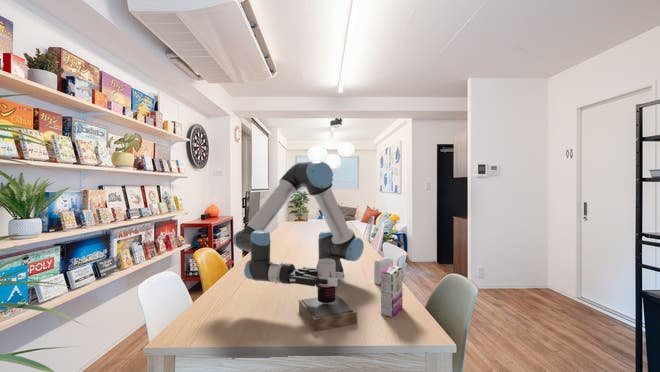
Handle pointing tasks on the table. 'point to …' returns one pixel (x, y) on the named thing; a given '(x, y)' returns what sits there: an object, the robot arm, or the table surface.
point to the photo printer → (381, 268)
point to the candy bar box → (391, 290)
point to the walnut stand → (327, 313)
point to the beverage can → (326, 270)
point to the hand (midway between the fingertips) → (339, 279)
